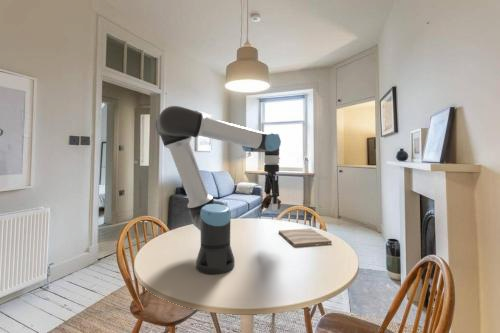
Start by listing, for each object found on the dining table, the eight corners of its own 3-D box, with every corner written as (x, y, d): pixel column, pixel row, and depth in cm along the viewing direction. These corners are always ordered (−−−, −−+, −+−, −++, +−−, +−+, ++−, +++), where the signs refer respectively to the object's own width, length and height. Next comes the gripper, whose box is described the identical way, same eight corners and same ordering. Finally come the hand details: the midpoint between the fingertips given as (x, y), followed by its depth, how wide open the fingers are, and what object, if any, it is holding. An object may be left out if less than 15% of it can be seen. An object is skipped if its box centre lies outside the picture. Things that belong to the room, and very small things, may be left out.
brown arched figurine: (263, 207, 127) (271, 193, 127) (277, 217, 123) (285, 203, 123) (254, 204, 117) (262, 190, 117) (269, 215, 112) (278, 201, 112)
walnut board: (331, 243, 119) (331, 240, 119) (294, 246, 115) (294, 243, 115) (310, 230, 141) (310, 228, 141) (278, 233, 136) (278, 230, 136)
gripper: (286, 164, 111) (286, 212, 111) (271, 163, 132) (271, 204, 132) (271, 164, 109) (270, 213, 110) (258, 163, 130) (258, 204, 131)
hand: (271, 208), depth 121 cm, fingers closed on brown arched figurine, 9 cm apart
